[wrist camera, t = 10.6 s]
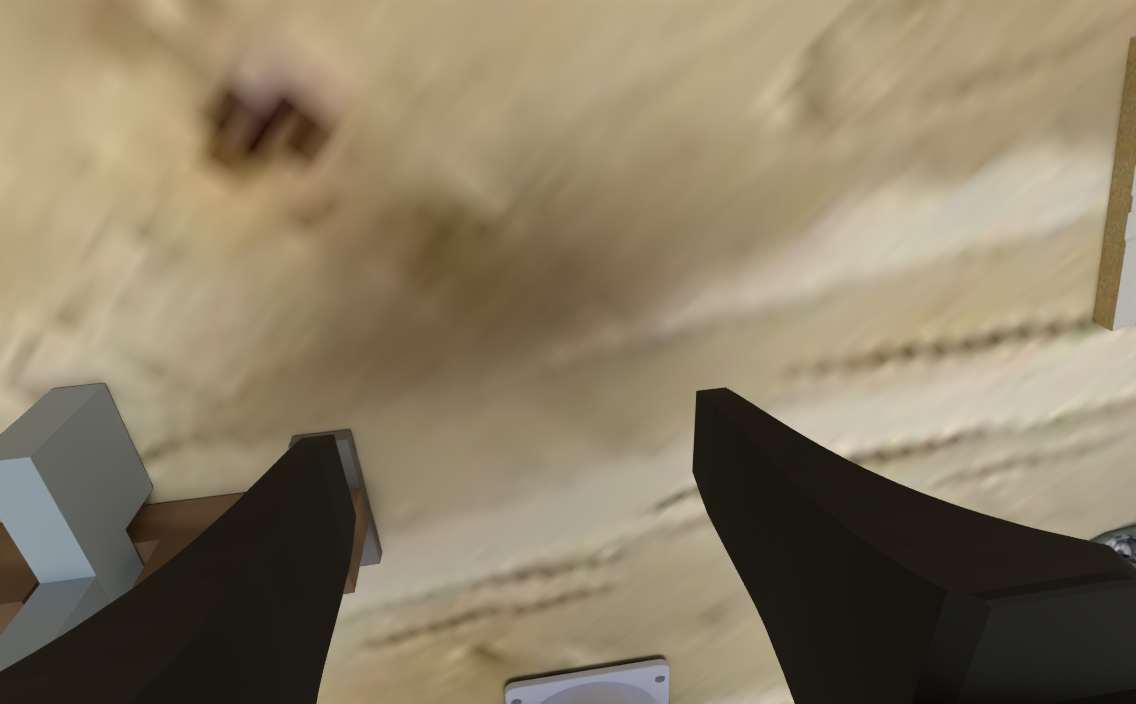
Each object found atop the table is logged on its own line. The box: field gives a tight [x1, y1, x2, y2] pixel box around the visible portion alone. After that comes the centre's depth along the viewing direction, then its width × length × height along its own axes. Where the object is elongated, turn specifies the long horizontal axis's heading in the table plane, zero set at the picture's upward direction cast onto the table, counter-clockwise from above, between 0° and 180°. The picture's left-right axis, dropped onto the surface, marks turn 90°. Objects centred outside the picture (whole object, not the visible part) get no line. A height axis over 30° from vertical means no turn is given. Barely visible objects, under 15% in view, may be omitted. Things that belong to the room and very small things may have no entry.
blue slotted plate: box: [0, 383, 153, 671], centre depth 20 cm, size 12×2×8 cm, turn 3°
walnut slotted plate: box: [0, 430, 382, 636], centre depth 22 cm, size 6×16×4 cm, turn 93°
